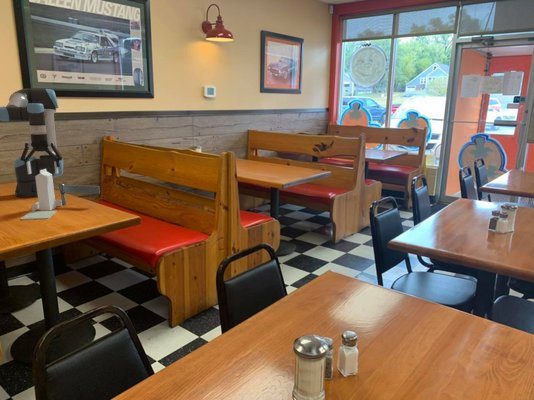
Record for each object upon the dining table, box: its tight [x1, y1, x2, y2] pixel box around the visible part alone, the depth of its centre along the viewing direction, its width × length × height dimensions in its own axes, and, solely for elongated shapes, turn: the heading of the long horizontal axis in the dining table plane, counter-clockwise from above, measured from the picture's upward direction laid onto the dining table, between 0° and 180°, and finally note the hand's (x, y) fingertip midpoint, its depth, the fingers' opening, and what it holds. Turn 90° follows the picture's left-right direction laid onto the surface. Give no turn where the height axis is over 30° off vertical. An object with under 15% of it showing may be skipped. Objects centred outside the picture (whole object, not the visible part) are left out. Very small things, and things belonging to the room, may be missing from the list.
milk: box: [35, 169, 57, 211], centre depth 223 cm, size 6×6×22 cm
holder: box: [30, 193, 67, 212], centre depth 227 cm, size 14×14×7 cm
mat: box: [20, 210, 58, 221], centre depth 213 cm, size 13×13×1 cm
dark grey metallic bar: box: [58, 183, 101, 195], centre depth 231 cm, size 23×3×5 cm, turn 85°
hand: (43, 173), depth 220 cm, fingers open, 13 cm apart
